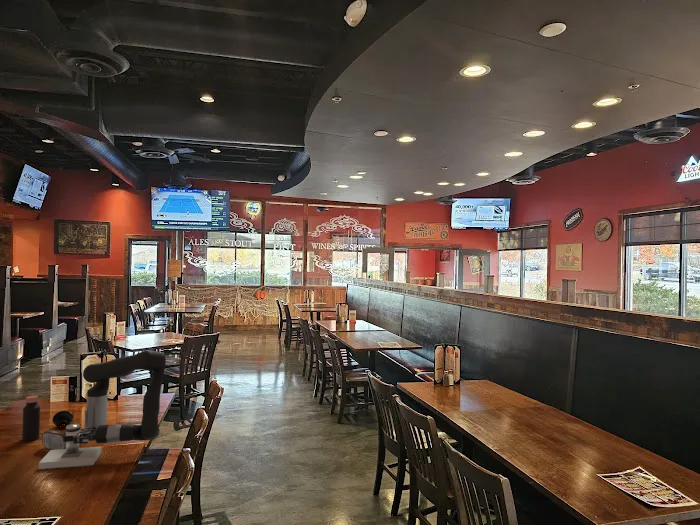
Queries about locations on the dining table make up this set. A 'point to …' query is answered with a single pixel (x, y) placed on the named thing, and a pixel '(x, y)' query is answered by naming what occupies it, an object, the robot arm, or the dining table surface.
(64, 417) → the fried shrimp in bowl
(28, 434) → the bottle
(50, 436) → the tin
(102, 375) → the robot arm
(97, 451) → the block
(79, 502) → the dining table surface
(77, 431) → the canister
